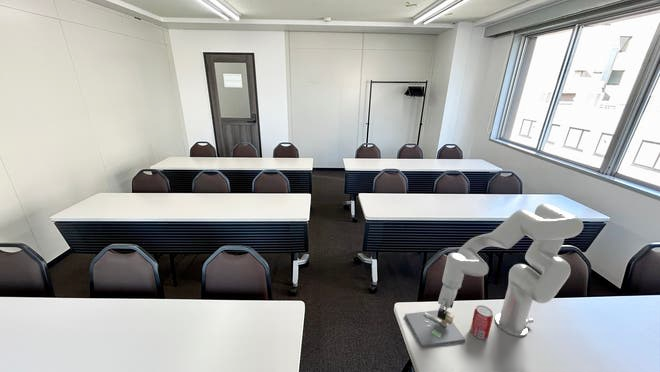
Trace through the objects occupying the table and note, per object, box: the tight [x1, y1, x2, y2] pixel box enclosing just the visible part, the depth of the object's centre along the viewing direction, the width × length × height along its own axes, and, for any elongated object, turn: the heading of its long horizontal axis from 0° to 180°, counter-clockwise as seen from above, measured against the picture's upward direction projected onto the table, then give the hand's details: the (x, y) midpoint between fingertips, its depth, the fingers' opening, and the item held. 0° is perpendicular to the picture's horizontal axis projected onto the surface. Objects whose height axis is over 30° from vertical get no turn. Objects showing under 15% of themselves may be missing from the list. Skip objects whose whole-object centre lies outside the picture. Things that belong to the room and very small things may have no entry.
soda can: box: [470, 304, 494, 340], centre depth 116 cm, size 7×7×13 cm
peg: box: [424, 310, 455, 326], centre depth 121 cm, size 12×3×7 cm, turn 49°
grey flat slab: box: [404, 309, 466, 349], centre depth 120 cm, size 20×17×2 cm
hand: (444, 312), depth 118 cm, fingers open, 9 cm apart
